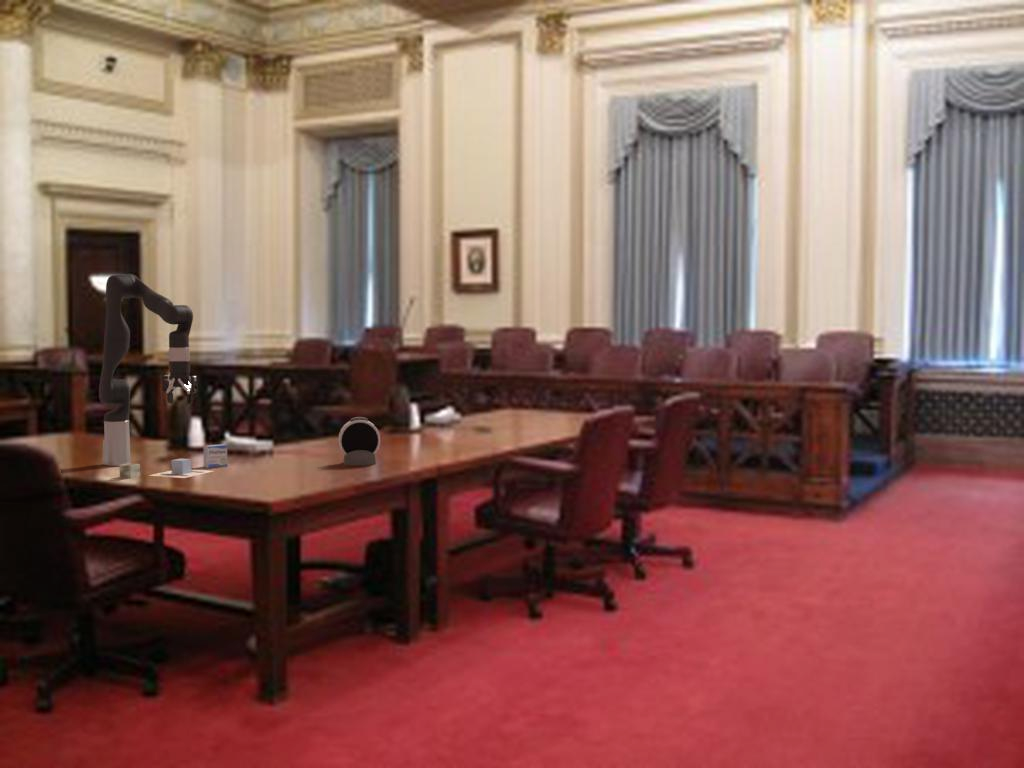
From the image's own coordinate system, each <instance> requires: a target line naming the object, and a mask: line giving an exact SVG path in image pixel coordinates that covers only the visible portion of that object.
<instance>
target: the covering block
mask: <svg viewBox="0 0 1024 768" xmlns="http://www.w3.org/2000/svg"><path fill="white" fill-rule="evenodd" d="M118 467H119V478H120V479H121V478H123V479H134V478H139V477H141V464H140V463H134V462H133V463H132V462H130V463H128V464H123V465H119V466H118Z"/></svg>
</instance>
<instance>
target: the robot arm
mask: <svg viewBox="0 0 1024 768" xmlns="http://www.w3.org/2000/svg"><path fill="white" fill-rule="evenodd" d="M131 298H134V299H137V300H138V299H139V300H141V301H142V304H143V305H144V307H145V308H146V309H147V310H149V311H150V312H152V313H153V314H156V315H157V316H159V318H161V320H163V322H164V323H166V324H169V325H173V326H174V325H177V327H176V329H175V330H173V331H170V332H169V335H168V373H169V374H165V375H162V378H161V379H162V382H161V383H162V384H161V391H162V392H165V393H166V398H167V399H166V400H167V401H166V402H167V403H168V404H174V392H175V389H177V388H181V389H183V390H184V391H186V393H187V394H186V402H187V403H186V404H187V405H192V404H194V394H196V393H198V392H199V384H198V376H197V375H192V376H191V375H190V372H191V353H190V333H191V329H192V325H193V322H194V321H193V320H194V313H193V309H192V308H191V307H190V306H188V305H185V304H180V305H178V304H176V305H175V304H174V303H173V302H172V300H171V299H169V298H167V297H165V296H164V295H162V294H160V293H158V292H156V291H155V290H153V289H152V288H150V287H149V286H148V285H146V284H145V283H144V282H143V281H142V280H140V279H139V278H138V277H137V276H136V275H134V274H132V273H121V274H112V275H110V276H109V277H108V278H107V280H106V283H105V306H106V308H105V310H106V313H105V315H106V316H105V328H104V338H103V339H104V340H103V357H102V366H101V373H100V380H99V385H98V397H99V401H100V402H101V403H102V404H107V405H108V404H109V405H110V404H117V406H116V407H115V408H113V409H112V410H110V411H107V412H106V413H104V414H103V425H104V426H103V427H104V430H103V431H104V439H103V440H102V465H105V466H109V467H110V466H111V467H117V466H118V467H119V465H123V464H128V463H131V444H130V443H131V440H130V439H131V438H130V410H131V409H130V408H131V407H130V405H131V404H130V403H131V401H130V400H131V388H130V384H129V381H128V380H127V379H122V378H120V379H119V378H118V379H113V377H114V373H115V371H116V368H117V367H118V366H119V364H120V363H121V361H122V360H123V359H124V358H125V356H126V355H127V353H128V351H129V349H130V343H131V342H130V339H131V332H130V328H129V326H128V324H127V322H126V320H125V318H124V316H123V314H122V300H124V299H125V300H126V299H131Z"/></svg>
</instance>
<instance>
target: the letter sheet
mask: <svg viewBox="0 0 1024 768" xmlns="http://www.w3.org/2000/svg"><path fill="white" fill-rule="evenodd" d="M191 470H192V473H187V474H172V469H171V470H168V471H163V472H162V471H161V472H158V473H153V474H149V475H148V476H149V477H163V478H164V477H166V478H177V479H187V478H191V477H195V476H199V475H204V474H208V473H212V472H214V470H205V469H204V470H203V469H192V468H191Z"/></svg>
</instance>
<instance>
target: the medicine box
mask: <svg viewBox="0 0 1024 768" xmlns="http://www.w3.org/2000/svg"><path fill="white" fill-rule="evenodd" d="M202 449H203V467H204V468H206V469H211V468H212V469H213V468H223V467H225V468H227V467H228V445H227V444H224V443H223V444H210V445H209V444H208V445H203V448H202Z"/></svg>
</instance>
